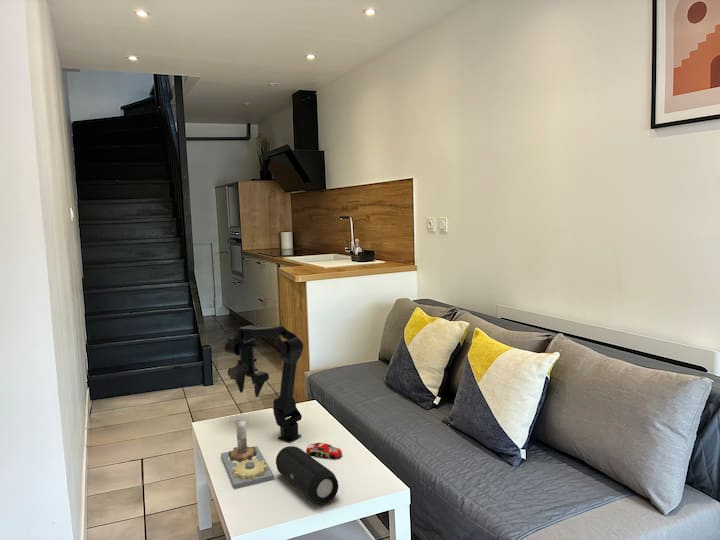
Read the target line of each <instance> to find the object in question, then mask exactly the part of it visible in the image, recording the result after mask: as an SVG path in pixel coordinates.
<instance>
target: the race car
mask: <svg viewBox="0 0 720 540" xmlns="http://www.w3.org/2000/svg"><path fill="white" fill-rule="evenodd" d="M305 453H307V454H308V455H309V456H314V457H315V458H322V459H329V460H332V459H335V460H337V459H340V458H341V457H342V456H343V452H342V450H341V449H340V448H338V447H335V446H332V444H329V443H324V442H315V443H310V444H309V445H308V446H307V447H306V450H305ZM314 457H313V458H314Z"/></svg>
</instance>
